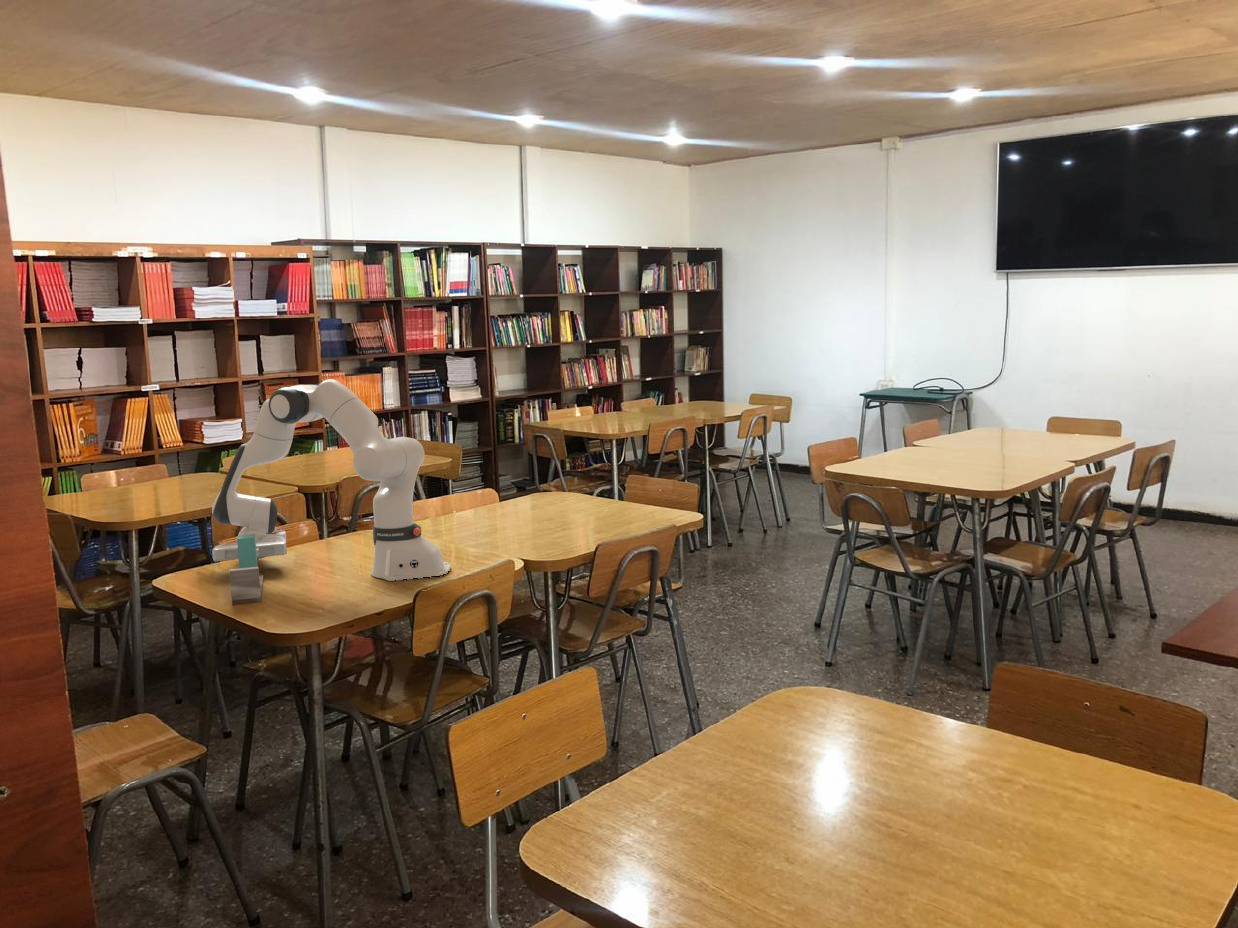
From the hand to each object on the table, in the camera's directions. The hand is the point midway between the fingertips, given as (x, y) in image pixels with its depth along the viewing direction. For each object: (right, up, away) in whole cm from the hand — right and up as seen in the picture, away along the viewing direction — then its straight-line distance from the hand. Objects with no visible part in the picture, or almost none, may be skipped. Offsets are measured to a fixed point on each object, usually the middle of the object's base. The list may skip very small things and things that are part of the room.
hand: (249, 555), depth 269 cm
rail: (+4, -8, -11) cm, 14 cm away
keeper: (+1, -6, -3) cm, 7 cm away
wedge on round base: (-12, 0, +49) cm, 50 cm away
